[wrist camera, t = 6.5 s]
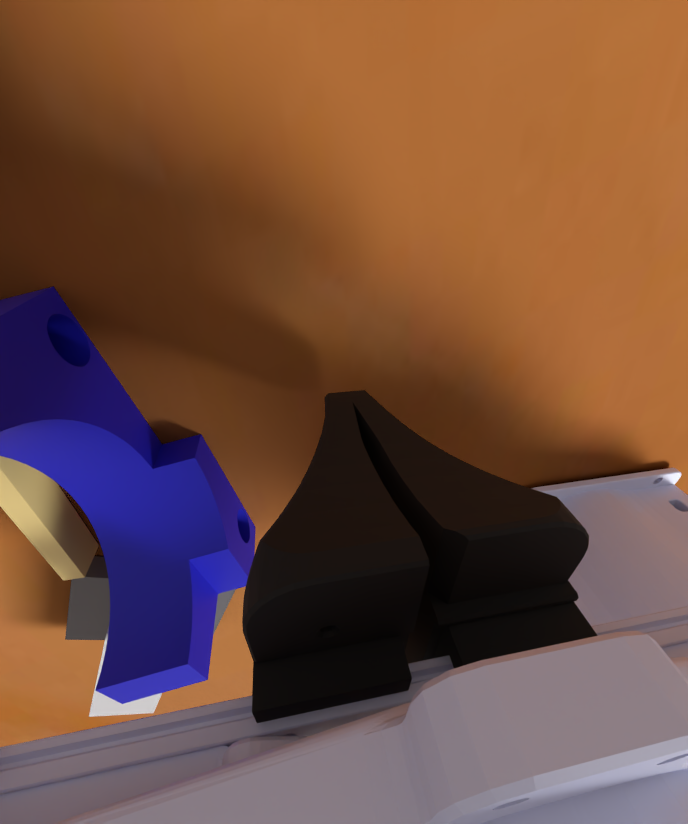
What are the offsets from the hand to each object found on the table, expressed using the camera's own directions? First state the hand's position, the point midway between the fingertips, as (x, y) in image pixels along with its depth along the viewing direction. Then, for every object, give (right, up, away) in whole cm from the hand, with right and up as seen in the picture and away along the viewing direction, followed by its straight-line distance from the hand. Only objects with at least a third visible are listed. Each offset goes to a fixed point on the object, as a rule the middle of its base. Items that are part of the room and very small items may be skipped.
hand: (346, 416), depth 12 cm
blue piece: (-8, -1, +2) cm, 8 cm away
